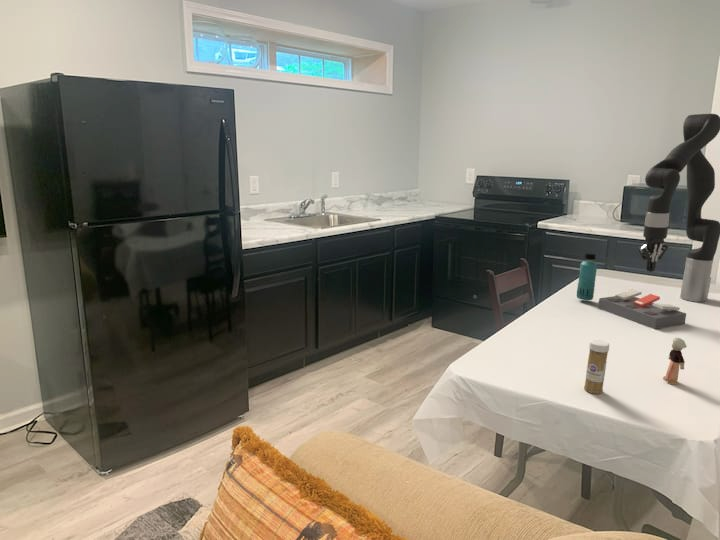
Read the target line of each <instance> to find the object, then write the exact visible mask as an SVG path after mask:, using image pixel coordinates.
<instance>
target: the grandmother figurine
mask: <svg viewBox="0 0 720 540" xmlns="http://www.w3.org/2000/svg"><path fill="white" fill-rule="evenodd" d="M687 347H688V346H687V343H686V342H685V340H684V339H682V338H681V337H673V339H672V344H671V348H672V349H671V350H670V351H669V354H668V355H669V356H668V360H669V361H670V362H669V364H668V367H667V369H666V372H665V376H663V377H662V378H663V380H665V381H667V383H668V384H669V385H671V384H672V385H671V386H677V385H679V384H680V382H679V381H678V379H679V373H680V370H685V363H686V361H685V359H684V356H683V353H682V350H683V349H686V348H687Z"/></svg>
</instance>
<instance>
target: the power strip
mask: <svg viewBox="0 0 720 540" xmlns="http://www.w3.org/2000/svg"><path fill="white" fill-rule="evenodd" d="M598 299H599V300H598V308H597V309H599V310H601V311H604V310H605V311H604V312H608V313H610V314H612V313H613V314H612V315H615V316H617V317H621V318H623V319H626V320H629V321H631V322H635V323H637V324H640V325H642V326H645V327H648V328H650V329H653V330H659V329H665V328H670V327H671V328H672V327H675V326H681V325H685V324H686V318H687V312H682V311H680V310H671V311H667V310H664V309H661V308H658V307H655V306H652V305H653V303H654V302H653V303H652V304H651V305H646V306H644V307H639V306H636V305H633V302H634V301H636V300H638V299H640V298H639V297H638V296H635V297H634V298H633V299H627V300H621V299H618V298H615V295H614V296H613V295H612V296H608V297H607V296H606V297H600V298H598Z"/></svg>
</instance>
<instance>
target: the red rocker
mask: <svg viewBox="0 0 720 540" xmlns="http://www.w3.org/2000/svg"><path fill="white" fill-rule="evenodd" d="M659 300H661V297H660V296H658V295H656V294H653V293H649V294H647V295H645V296H642V297H641V298H640V299H638V300H636V301H634V302H633V305H636V306H639V307H644V306H646V305H651V304H652V303H656V302H657V301H659Z"/></svg>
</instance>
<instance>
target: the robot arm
mask: <svg viewBox="0 0 720 540" xmlns="http://www.w3.org/2000/svg"><path fill="white" fill-rule="evenodd" d="M682 128H683V130H682V132H683V142H681V143H680V144H678V145H676V146H675V147H674V148H673V149H671V151H670V152H669V153H668V154H667V155H666V157H665V158H664V159H663V160H661V161H660V162H658V163H656V164H655V165H653V166H652V167H651V168H649V170H648V171H647V173H646V175H645V179H644V181H645V184H646V186H647V187H649V188H651V189H661V190H663V191H662V193H660V194H652V195H650V196H649V197H648V200H647V201H648V202H647V207H646V208H647V209H646V214H645V220H644V228H643V234H642V236H643V237H644V238H645V239H644V242H643V245H642V246H641V247H640V246H638V251H639V254H640V257H641V258H642V260H645V261H646V269H645V270H646V271H647V272H650V273H651V272H655V269H656V265H657V262H658V261H659V260H661V259H662V257H663V256H664V255H665V253H666V252H667V250H668V248H669V246H668V245H667V244H665V240H666V239H667V237H668V232H669V231H668V230H669V224H670V209H671V205H672V204H671V203H672V199H673V197H674V194H675V192H676V189H677V188H678V186H679V183H680V179H681V175H680V173H681V172H682V171H683V170H684V168H686V189H687V190H686V191H687V195H686V196H687V211H686V213H687V215H686V226H685V227H686V228H685V232H686V237H687V238H688V239H689V240H691V241H695V242H701V243H702V245H701V246H700V247H698V248H693V249H689V250H688V251H687V253H686V259H685V267H684V272H683V278H682V284H681V289H680V296H679V297H680V298H681V299H682V300H684V301H690V302H694V303H695V302H696V303H697V302H698V303H705V302H706V301H707V300H708V296H709V293H710V292H709V291H710V286H711V281H712V277H711V274H712V269H713V265H714V264H713V263H714V257H715V254H716V252H717V248H718V245H719V240H720V221H718V220H715V219H708V218H702V208H703V206H704V204H705V203H706V202H707V200H708V199H709V197H710V196H711V195H712V194H713V192H714V190H715V187H716V176H715V175H716V173H715V168H714V167H713V165H712V164H711V162H710V161H709V160H708V159H707V157H706V156H705V154H703V151H702V149H703V148H705V147H706V146H707V145H708V144H709V143H710V142H711V141H713V140H714V139H715V138H716V137H717V135H718V134H719V133H720V116H719V115H718V114H716V113H702V114H701V113H698V114H689V115H688V116H687V117H686V118H685V119H684V122H683V127H682ZM664 239H665V240H664Z"/></svg>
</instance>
